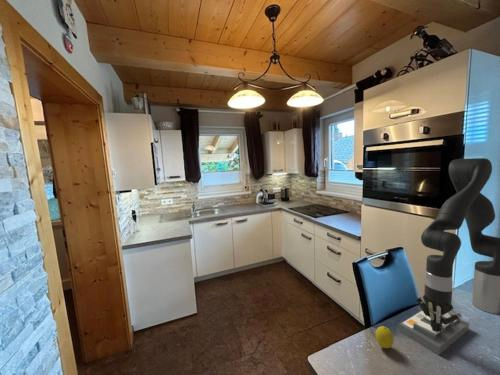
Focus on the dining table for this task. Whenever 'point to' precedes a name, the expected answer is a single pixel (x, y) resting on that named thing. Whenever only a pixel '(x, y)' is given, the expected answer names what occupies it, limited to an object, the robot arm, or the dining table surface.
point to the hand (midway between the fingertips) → (435, 330)
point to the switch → (427, 327)
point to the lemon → (384, 337)
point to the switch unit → (430, 339)
